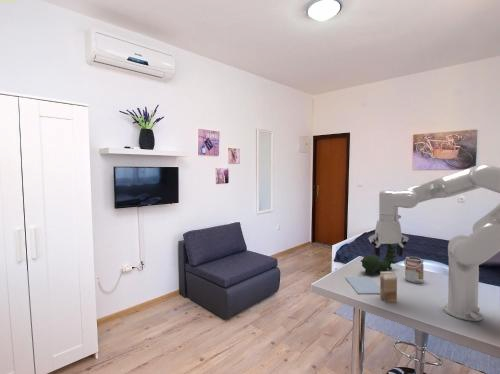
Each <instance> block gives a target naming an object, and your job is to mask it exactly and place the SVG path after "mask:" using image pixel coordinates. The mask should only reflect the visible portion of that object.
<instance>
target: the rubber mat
mask: <svg viewBox="0 0 500 374" xmlns="http://www.w3.org/2000/svg"><path fill="white" fill-rule="evenodd" d="M344 279H345V280H346V281H347V282H348V283H349V285H350V286H351V287H352V288H353V290H354V291H355V293H356V294H357V295H380V286H379V285H378V284H377V283H376V282H375V281H374V280H373V279H372V278H371V277H370V276H345V277H344Z"/></svg>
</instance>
